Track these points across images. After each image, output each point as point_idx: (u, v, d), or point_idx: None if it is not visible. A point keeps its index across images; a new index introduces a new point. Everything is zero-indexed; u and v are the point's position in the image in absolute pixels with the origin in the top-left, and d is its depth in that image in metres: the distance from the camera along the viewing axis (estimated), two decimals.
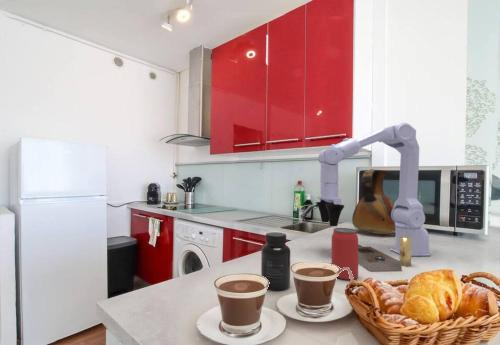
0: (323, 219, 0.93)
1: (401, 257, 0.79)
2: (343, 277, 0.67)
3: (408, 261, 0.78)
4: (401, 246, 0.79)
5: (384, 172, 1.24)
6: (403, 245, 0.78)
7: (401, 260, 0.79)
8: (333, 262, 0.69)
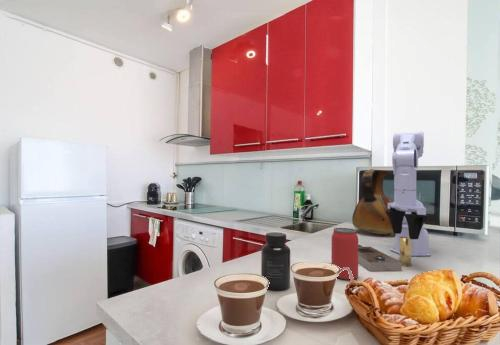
0: (395, 230, 0.83)
1: (401, 257, 0.79)
2: (343, 277, 0.67)
3: (408, 261, 0.78)
4: (401, 246, 0.79)
5: (384, 172, 1.24)
6: (403, 245, 0.78)
7: (401, 260, 0.79)
8: (333, 262, 0.69)
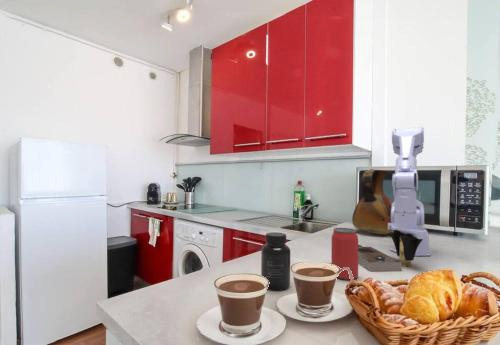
0: (399, 253, 0.81)
1: (401, 257, 0.79)
2: (343, 277, 0.67)
3: (408, 261, 0.78)
4: (401, 246, 0.79)
5: (384, 172, 1.24)
6: None
7: (401, 260, 0.79)
8: (333, 262, 0.69)
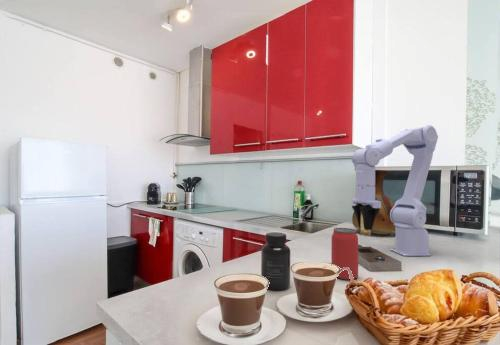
0: (360, 224, 0.87)
1: (361, 227, 0.85)
2: (343, 277, 0.67)
3: (367, 231, 0.84)
4: (361, 217, 0.85)
5: (384, 172, 1.24)
6: None
7: (361, 230, 0.85)
8: (333, 262, 0.69)
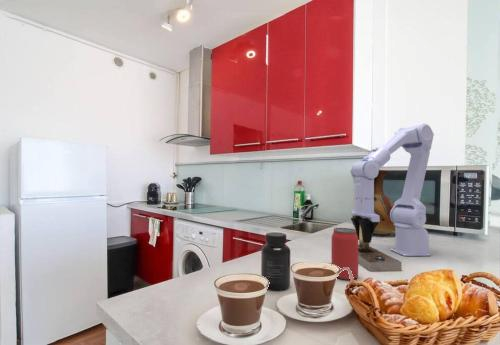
0: None
1: (360, 240, 0.85)
2: (343, 277, 0.67)
3: (366, 244, 0.84)
4: (360, 230, 0.85)
5: (384, 172, 1.24)
6: None
7: (360, 243, 0.85)
8: (333, 262, 0.69)
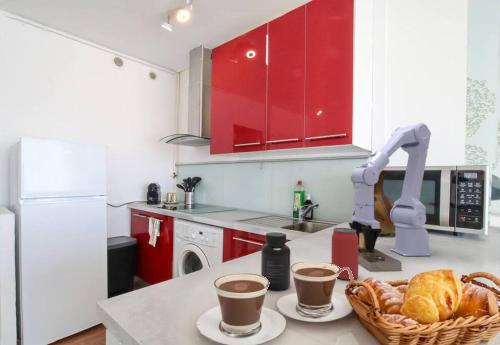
0: None
1: (360, 251, 0.85)
2: (343, 277, 0.67)
3: None
4: (360, 241, 0.85)
5: (384, 172, 1.24)
6: (361, 239, 0.85)
7: None
8: (333, 262, 0.69)
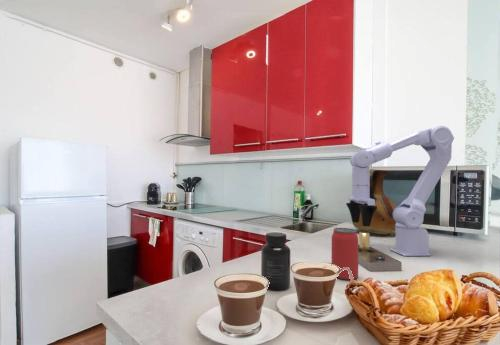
0: (354, 219, 0.97)
1: (360, 251, 0.85)
2: (343, 277, 0.67)
3: None
4: (360, 241, 0.85)
5: (384, 172, 1.24)
6: (361, 239, 0.85)
7: None
8: (333, 262, 0.69)
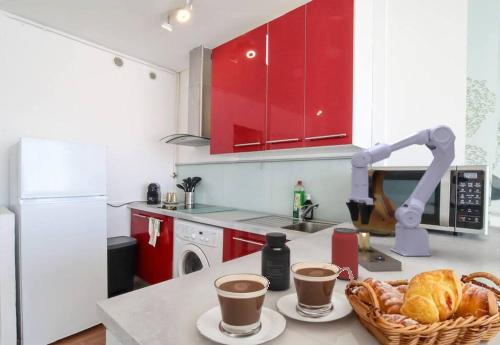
0: (353, 218, 1.00)
1: (360, 251, 0.85)
2: (343, 277, 0.67)
3: None
4: (360, 240, 0.85)
5: (384, 172, 1.24)
6: (361, 239, 0.85)
7: None
8: (333, 262, 0.69)
